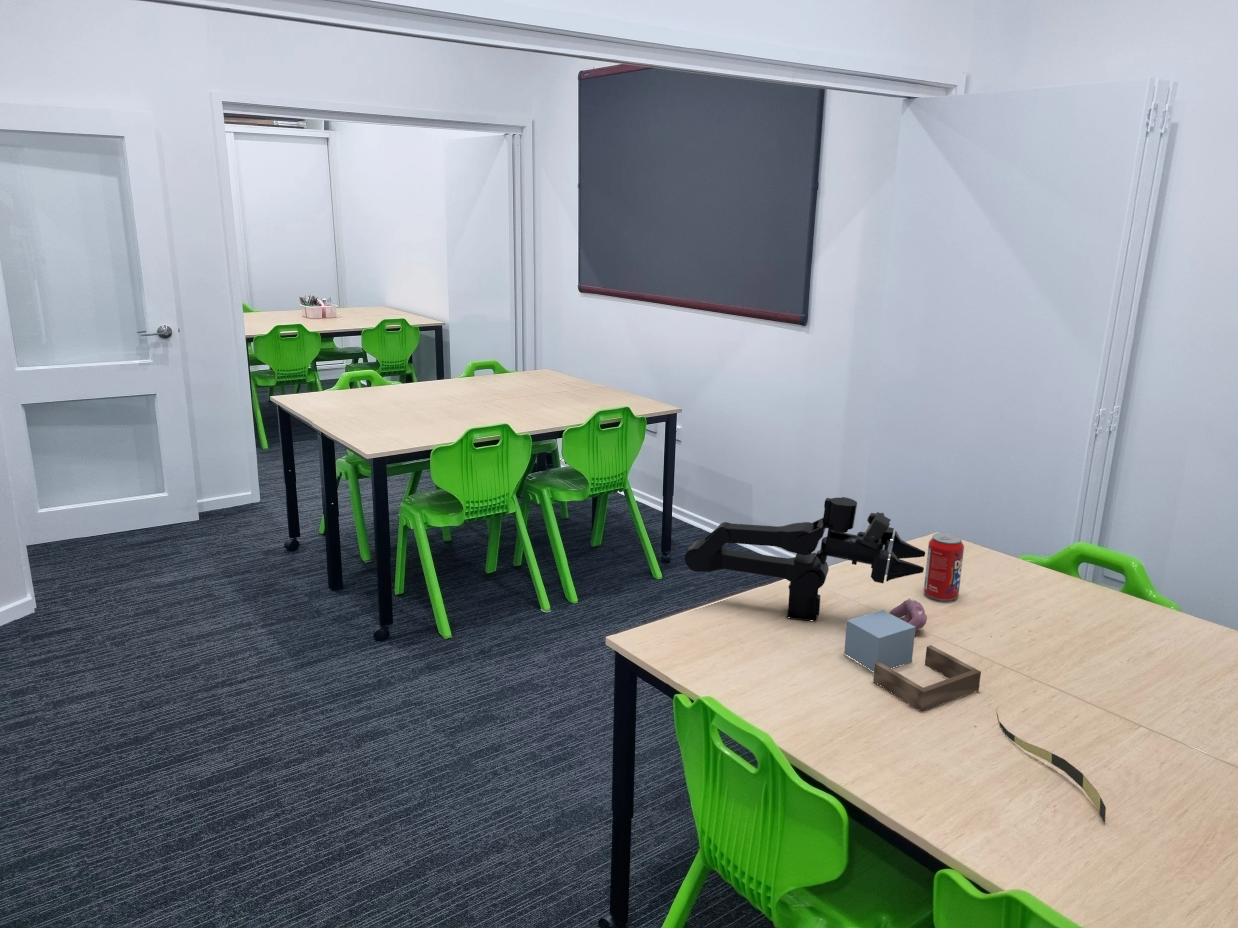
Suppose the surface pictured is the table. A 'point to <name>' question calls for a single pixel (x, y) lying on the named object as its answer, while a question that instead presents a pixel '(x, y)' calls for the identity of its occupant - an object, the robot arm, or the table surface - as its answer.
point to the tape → (1064, 766)
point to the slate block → (879, 640)
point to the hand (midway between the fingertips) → (924, 561)
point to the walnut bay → (956, 686)
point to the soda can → (944, 567)
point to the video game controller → (911, 613)
